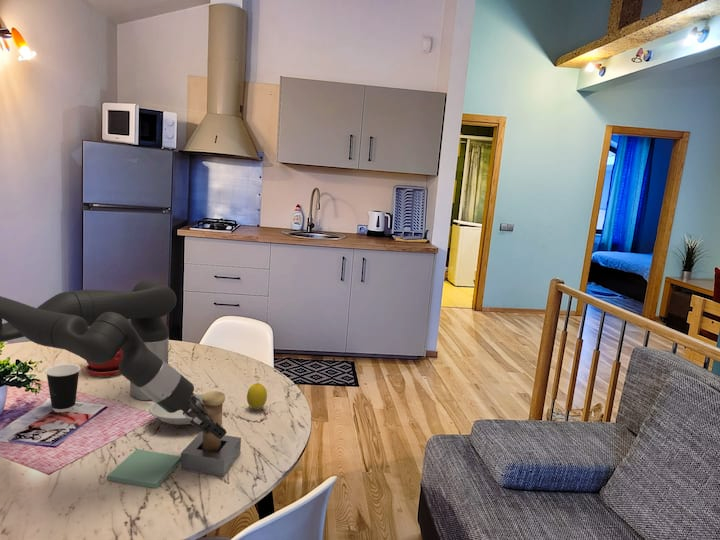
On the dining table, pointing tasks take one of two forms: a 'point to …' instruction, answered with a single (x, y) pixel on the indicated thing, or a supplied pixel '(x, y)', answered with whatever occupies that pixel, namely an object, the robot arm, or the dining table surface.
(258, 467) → the dining table surface
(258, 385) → the lemon
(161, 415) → the dish
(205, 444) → the peg
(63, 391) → the dixie cup
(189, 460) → the grey square socket block
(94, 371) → the plant pot
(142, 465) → the mat
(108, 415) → the dining table surface
